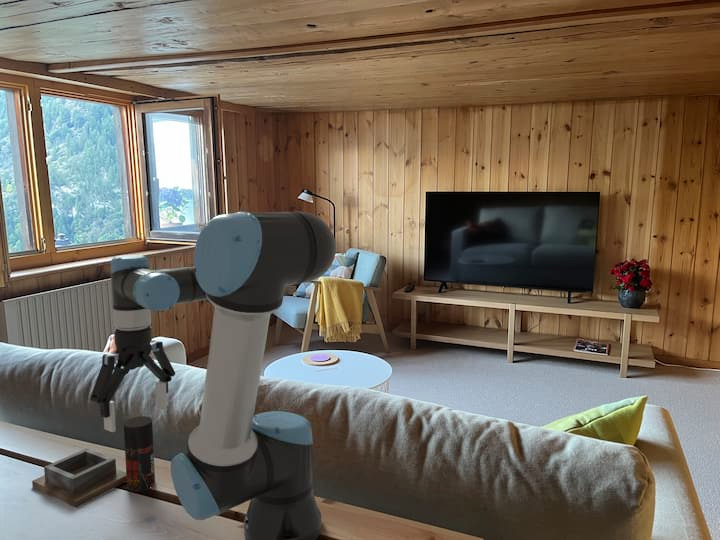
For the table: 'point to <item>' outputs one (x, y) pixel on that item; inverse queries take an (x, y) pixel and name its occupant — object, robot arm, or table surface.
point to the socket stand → (80, 477)
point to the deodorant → (139, 453)
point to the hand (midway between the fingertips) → (137, 418)
